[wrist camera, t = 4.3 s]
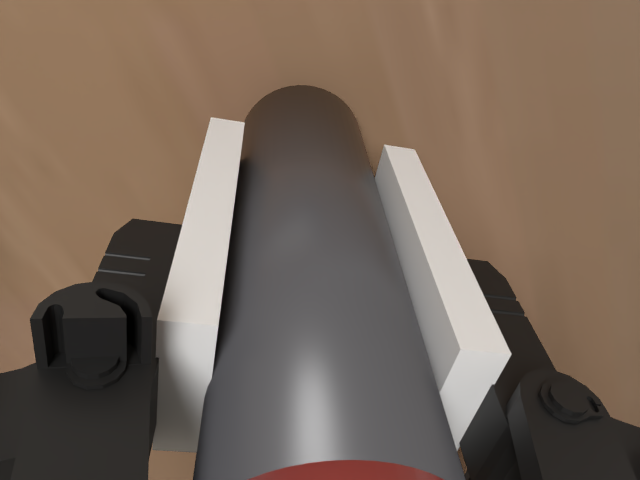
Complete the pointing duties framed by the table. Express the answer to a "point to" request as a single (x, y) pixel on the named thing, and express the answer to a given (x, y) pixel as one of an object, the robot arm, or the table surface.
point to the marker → (317, 316)
